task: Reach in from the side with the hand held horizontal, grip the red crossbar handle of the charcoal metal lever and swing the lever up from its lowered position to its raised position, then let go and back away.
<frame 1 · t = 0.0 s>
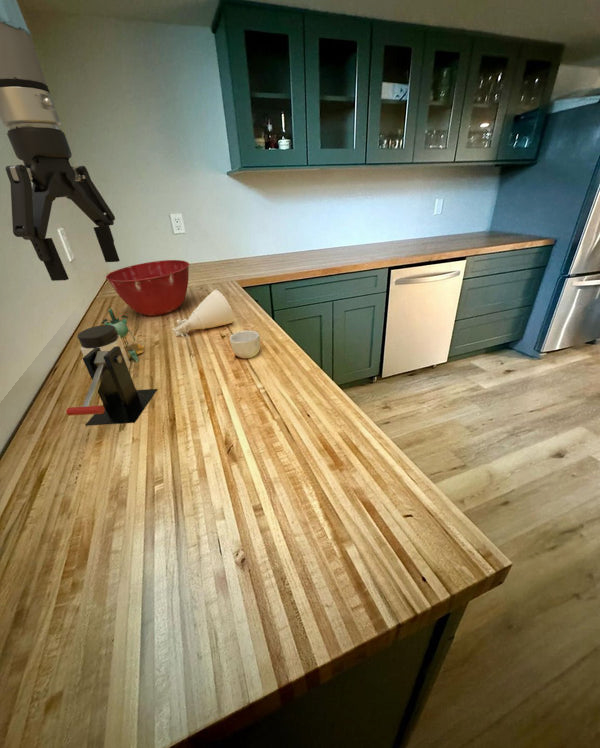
hand: (89, 270, 62), 28 cm above the table, tool pointing down, fingers open, 13 cm apart
jar: (114, 375, 85), on the table
lever: (96, 382, 62), point 10 cm above the table, hinge at -25.0°
frog figurine: (128, 357, 94), on the table
bracket: (125, 410, 71), on the table
teacup: (246, 353, 90), on the table
rocket engine: (203, 328, 109), on the table
mixing bowl: (160, 310, 129), on the table
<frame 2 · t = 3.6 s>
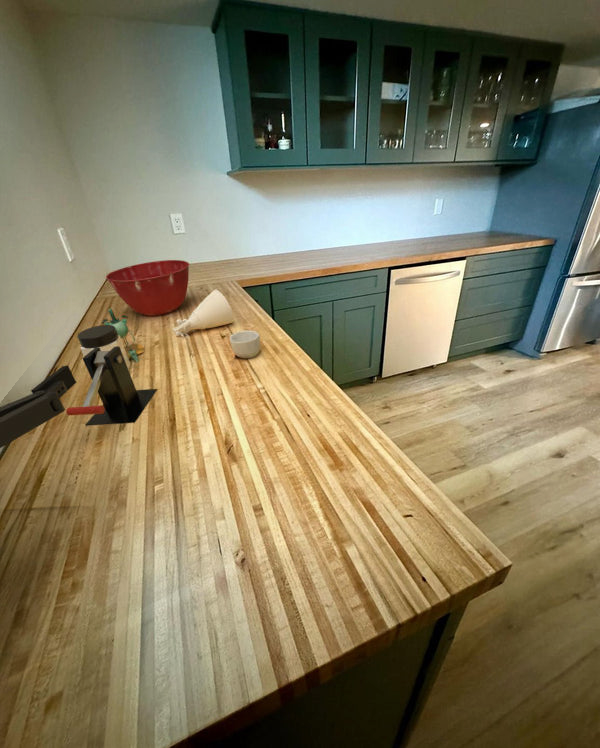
hand: (21, 379, 46), 18 cm above the table, tool horizontal, fingers open, 13 cm apart
nothing on the table moved.
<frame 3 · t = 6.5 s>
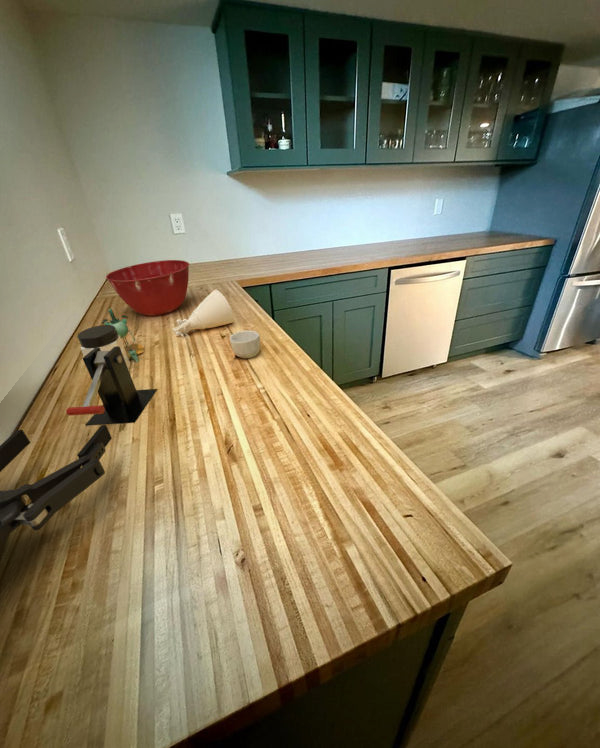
hand: (65, 433, 54), 7 cm above the table, tool horizontal, fingers open, 13 cm apart
nothing on the table moved.
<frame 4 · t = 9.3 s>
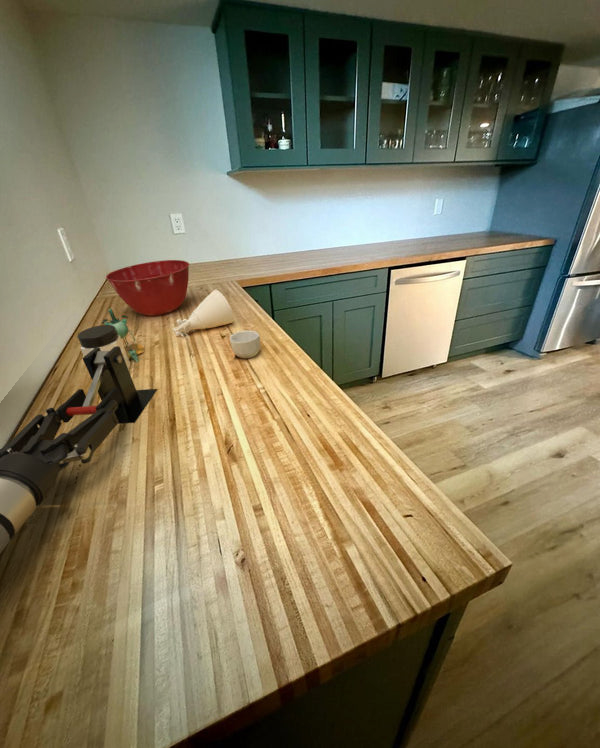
hand: (100, 394, 63), 7 cm above the table, tool horizontal, fingers closed on lever, 6 cm apart
lever: (96, 382, 62), point 10 cm above the table, hinge at -25.0°, touching gripper
everything else where it was.
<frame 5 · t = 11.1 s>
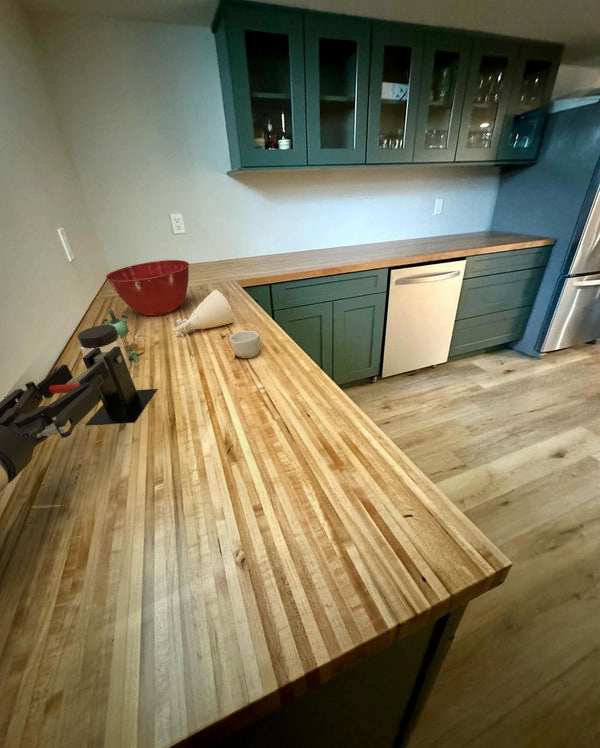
hand: (86, 370, 59), 13 cm above the table, tool horizontal, fingers closed on lever, 6 cm apart
lever: (89, 372, 60), point 12 cm above the table, hinge at 3.2°, touching gripper
everything else where it was.
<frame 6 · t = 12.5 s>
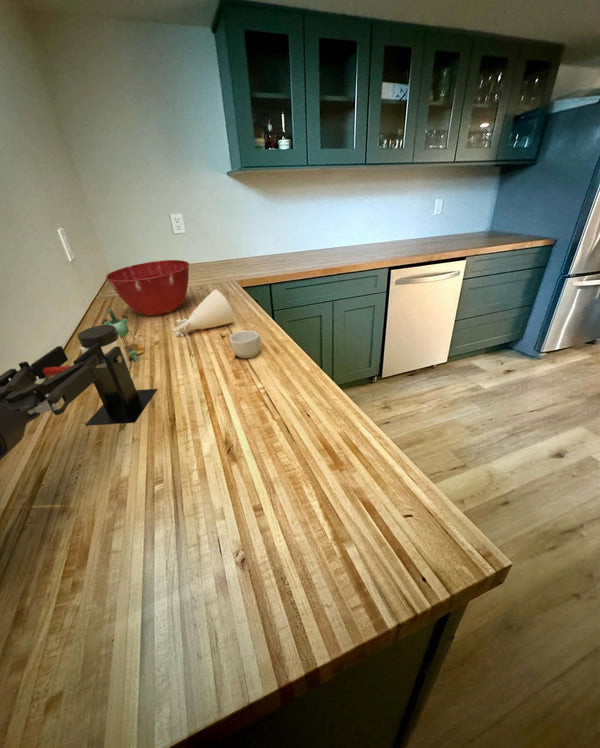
hand: (81, 352, 59), 16 cm above the table, tool horizontal, fingers closed on lever, 6 cm apart
lever: (87, 364, 60), point 14 cm above the table, hinge at 19.4°, touching gripper
everything else where it was.
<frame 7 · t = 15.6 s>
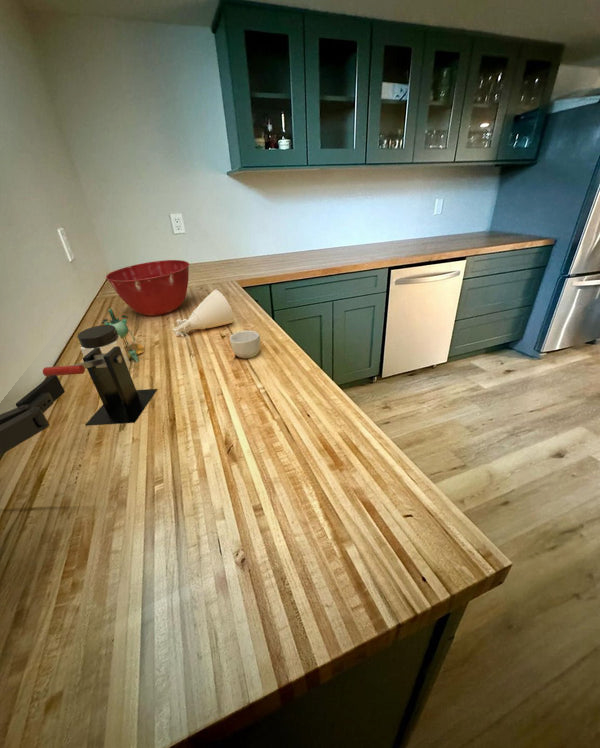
hand: (9, 386, 45), 18 cm above the table, tool horizontal, fingers open, 13 cm apart
lever: (87, 364, 60), point 14 cm above the table, hinge at 19.3°
everything else where it was.
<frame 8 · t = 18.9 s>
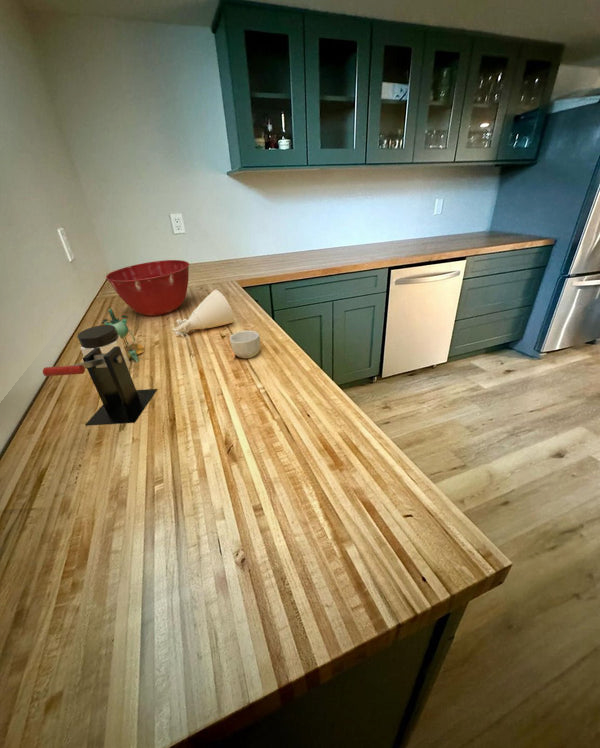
nothing on the table moved.
at the end: lever at +19° (first picture: -25°); the gripper is holding nothing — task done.
